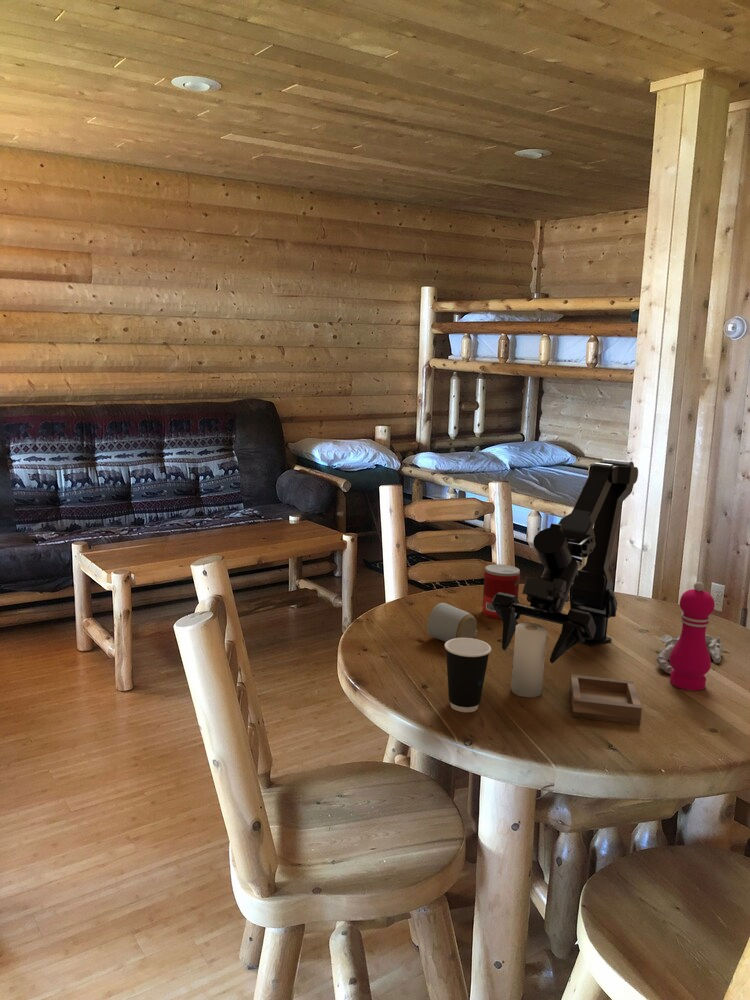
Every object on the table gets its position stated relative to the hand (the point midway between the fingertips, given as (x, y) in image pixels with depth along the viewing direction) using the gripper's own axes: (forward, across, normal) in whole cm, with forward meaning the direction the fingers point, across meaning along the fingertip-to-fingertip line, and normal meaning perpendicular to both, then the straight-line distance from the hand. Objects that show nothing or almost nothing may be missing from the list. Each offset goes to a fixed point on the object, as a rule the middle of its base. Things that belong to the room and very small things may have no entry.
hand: (526, 655), depth 143 cm
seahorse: (-20, +20, +30) cm, 41 cm away
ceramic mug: (-5, -23, +16) cm, 28 cm away
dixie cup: (+13, -6, -3) cm, 15 cm away
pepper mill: (-12, +23, +22) cm, 33 cm away
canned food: (-20, -22, +30) cm, 43 cm away
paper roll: (+4, 0, +6) cm, 7 cm away
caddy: (+2, +13, +8) cm, 16 cm away
